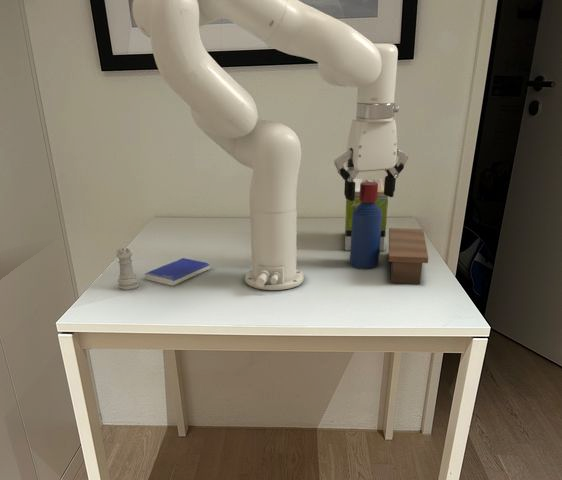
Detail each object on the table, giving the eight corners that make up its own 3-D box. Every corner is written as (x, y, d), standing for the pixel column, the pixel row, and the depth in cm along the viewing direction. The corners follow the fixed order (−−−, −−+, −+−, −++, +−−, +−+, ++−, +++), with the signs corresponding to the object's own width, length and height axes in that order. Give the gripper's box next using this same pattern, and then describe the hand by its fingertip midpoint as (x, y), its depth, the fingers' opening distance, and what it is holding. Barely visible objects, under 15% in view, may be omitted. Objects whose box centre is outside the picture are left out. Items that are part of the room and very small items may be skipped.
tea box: (344, 234, 157) (346, 177, 150) (381, 234, 156) (386, 177, 149) (344, 251, 144) (346, 189, 136) (385, 251, 143) (390, 190, 136)
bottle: (378, 269, 132) (384, 190, 123) (348, 268, 133) (352, 189, 124) (378, 260, 137) (384, 183, 129) (350, 259, 138) (354, 183, 130)
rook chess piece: (144, 285, 124) (139, 249, 120) (128, 292, 121) (122, 254, 117) (129, 281, 126) (124, 245, 122) (113, 288, 123) (107, 251, 119)
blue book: (173, 279, 123) (209, 263, 132) (144, 272, 126) (182, 257, 136) (173, 286, 123) (210, 269, 132) (145, 279, 127) (182, 263, 136)
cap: (358, 202, 126) (359, 185, 125) (359, 198, 130) (360, 181, 128) (376, 202, 126) (377, 185, 124) (376, 198, 129) (378, 181, 127)
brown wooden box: (425, 286, 122) (428, 257, 119) (386, 284, 123) (388, 256, 120) (420, 254, 141) (423, 229, 138) (387, 253, 142) (389, 227, 139)
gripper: (401, 109, 125) (395, 191, 133) (328, 112, 120) (326, 197, 128) (421, 112, 119) (412, 197, 127) (344, 116, 114) (341, 205, 122)
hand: (369, 197), depth 128 cm, fingers open, 9 cm apart
